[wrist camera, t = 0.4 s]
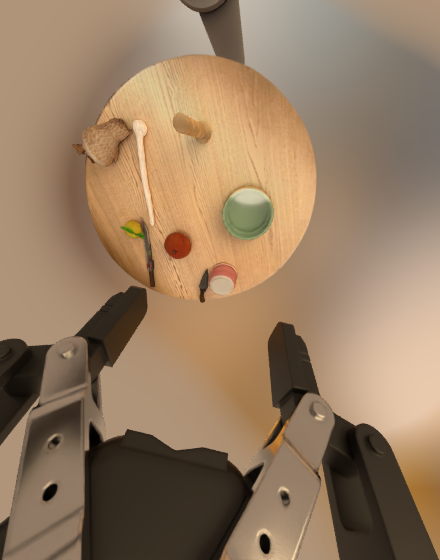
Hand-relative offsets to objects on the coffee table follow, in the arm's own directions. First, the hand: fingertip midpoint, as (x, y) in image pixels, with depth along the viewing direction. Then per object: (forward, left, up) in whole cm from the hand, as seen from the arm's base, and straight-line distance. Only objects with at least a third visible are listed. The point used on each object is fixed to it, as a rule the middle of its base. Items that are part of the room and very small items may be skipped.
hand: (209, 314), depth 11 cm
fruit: (+22, -17, -52) cm, 59 cm away
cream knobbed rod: (+5, -29, -52) cm, 59 cm away
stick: (-10, -14, -52) cm, 55 cm away
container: (+31, +1, -43) cm, 54 cm away
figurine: (+2, -45, -47) cm, 65 cm away
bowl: (+6, +3, -52) cm, 52 cm away
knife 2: (+40, -3, -51) cm, 65 cm away
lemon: (+21, -36, -52) cm, 67 cm away
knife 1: (+16, -31, -51) cm, 62 cm away
